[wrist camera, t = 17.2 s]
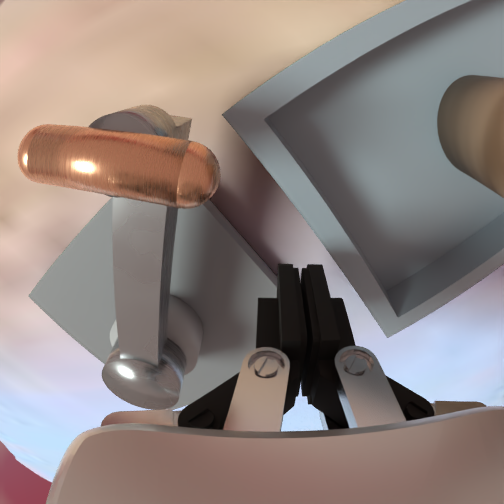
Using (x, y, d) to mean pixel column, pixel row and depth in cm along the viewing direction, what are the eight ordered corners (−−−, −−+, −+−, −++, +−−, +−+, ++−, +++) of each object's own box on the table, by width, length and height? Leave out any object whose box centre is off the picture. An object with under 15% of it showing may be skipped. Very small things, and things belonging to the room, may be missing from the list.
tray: (580, 150, 11) (609, 165, 9) (373, 301, 18) (387, 338, 15) (510, -38, 6) (542, -45, 4) (231, 107, 13) (221, 114, 10)
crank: (193, 386, 17) (178, 465, 13) (111, 365, 17) (82, 437, 12) (243, 112, 10) (225, 140, 5) (104, 93, 9) (6, 117, 5)
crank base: (326, 333, 19) (333, 371, 16) (172, 400, 24) (165, 431, 21) (164, 148, 14) (141, 166, 11) (35, 287, 18) (13, 314, 16)
